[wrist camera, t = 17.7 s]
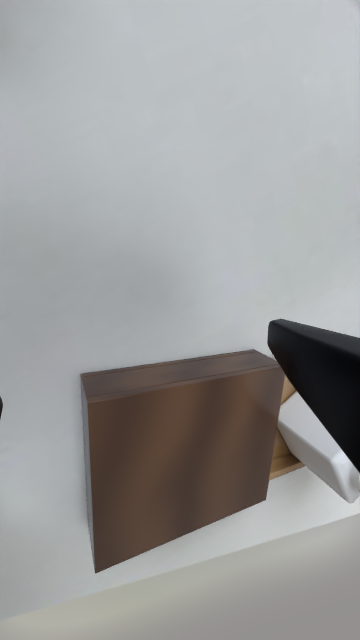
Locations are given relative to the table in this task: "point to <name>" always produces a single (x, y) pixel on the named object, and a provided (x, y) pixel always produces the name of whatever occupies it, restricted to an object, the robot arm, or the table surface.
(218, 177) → the table surface
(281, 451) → the drawer
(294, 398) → the medicine bottle
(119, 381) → the cabinet
